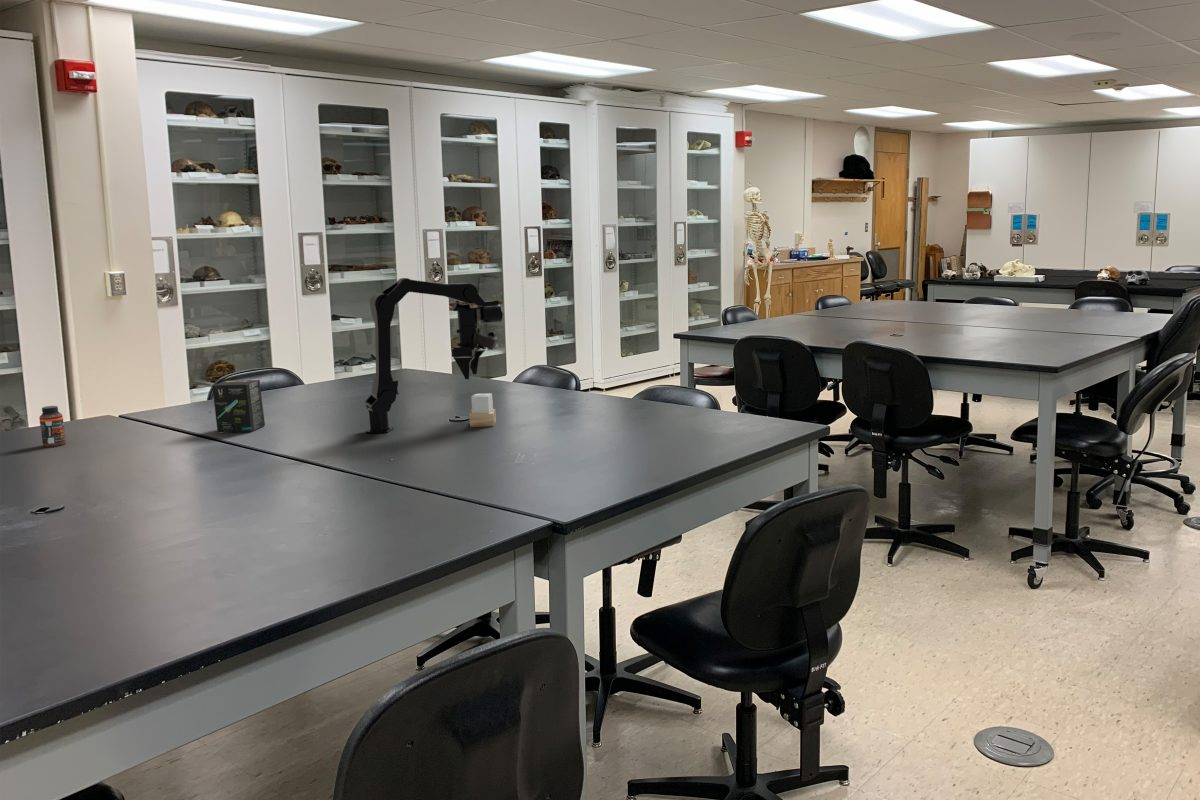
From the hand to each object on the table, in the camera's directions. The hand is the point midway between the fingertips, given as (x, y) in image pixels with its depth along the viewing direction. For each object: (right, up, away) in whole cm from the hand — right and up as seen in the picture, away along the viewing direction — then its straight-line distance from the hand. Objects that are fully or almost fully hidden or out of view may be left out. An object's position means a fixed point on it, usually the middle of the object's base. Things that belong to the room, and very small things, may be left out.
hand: (471, 376), depth 292 cm
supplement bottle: (-119, -20, -12) cm, 121 cm away
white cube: (+4, -11, -6) cm, 13 cm away
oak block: (+4, -14, -6) cm, 16 cm away
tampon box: (-69, -16, 0) cm, 71 cm away
